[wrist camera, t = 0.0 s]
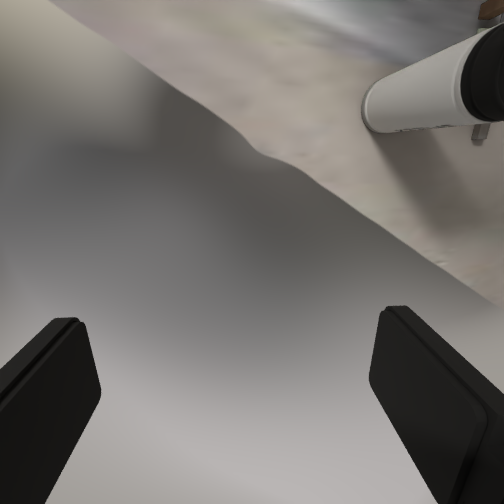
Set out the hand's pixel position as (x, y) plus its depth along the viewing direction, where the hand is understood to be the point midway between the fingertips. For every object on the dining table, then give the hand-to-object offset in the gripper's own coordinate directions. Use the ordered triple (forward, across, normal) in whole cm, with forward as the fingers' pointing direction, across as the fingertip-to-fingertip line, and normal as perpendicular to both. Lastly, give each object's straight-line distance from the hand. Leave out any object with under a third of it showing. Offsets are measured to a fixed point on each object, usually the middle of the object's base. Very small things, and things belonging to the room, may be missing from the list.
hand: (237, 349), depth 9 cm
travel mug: (+31, -19, -11) cm, 38 cm away
